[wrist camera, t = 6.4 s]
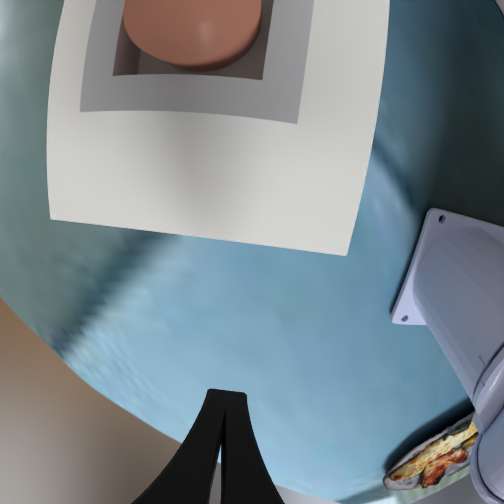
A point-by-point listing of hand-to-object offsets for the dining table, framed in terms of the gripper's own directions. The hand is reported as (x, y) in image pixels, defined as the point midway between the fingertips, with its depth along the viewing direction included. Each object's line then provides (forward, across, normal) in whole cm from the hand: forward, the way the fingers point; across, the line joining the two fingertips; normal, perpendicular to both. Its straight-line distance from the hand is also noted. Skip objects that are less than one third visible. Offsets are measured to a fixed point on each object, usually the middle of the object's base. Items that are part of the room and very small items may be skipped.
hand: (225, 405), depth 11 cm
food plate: (+9, -33, +22) cm, 41 cm away
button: (+6, +3, -14) cm, 15 cm away
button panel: (+8, +3, -14) cm, 17 cm away
